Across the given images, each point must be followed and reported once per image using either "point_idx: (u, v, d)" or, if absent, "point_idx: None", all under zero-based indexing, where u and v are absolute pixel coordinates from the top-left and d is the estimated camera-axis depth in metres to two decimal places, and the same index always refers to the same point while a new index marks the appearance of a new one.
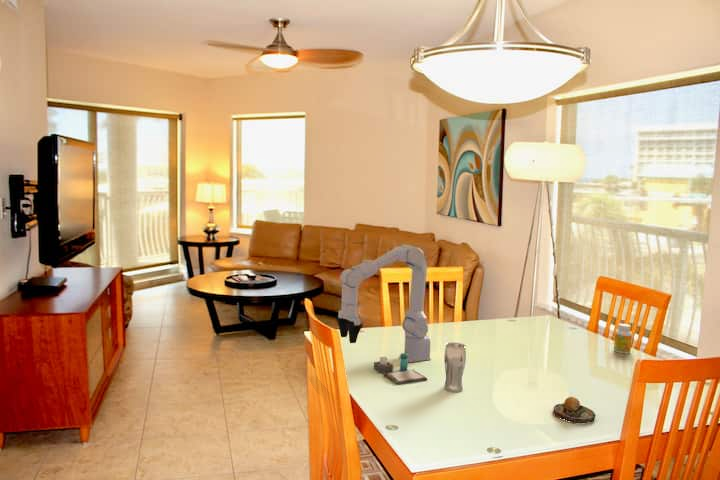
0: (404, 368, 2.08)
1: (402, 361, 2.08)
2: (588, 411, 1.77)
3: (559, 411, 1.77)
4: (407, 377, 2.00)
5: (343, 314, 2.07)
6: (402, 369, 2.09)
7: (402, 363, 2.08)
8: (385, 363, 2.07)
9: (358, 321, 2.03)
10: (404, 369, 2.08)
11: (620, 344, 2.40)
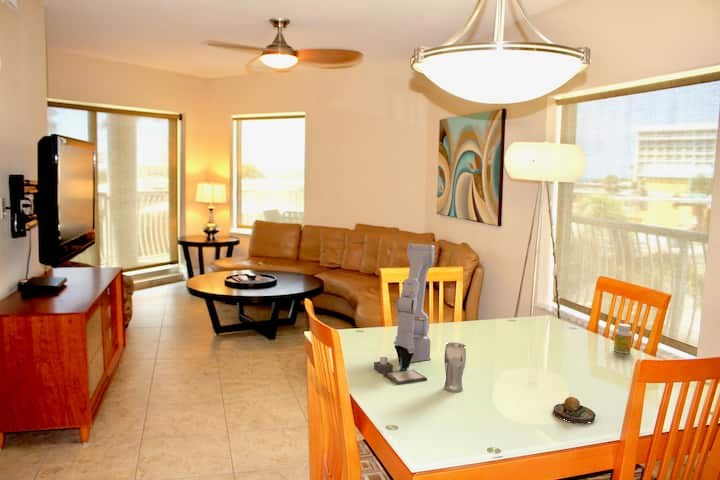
0: None
1: None
2: (588, 411, 1.77)
3: (559, 411, 1.77)
4: (407, 377, 2.00)
5: (398, 341, 2.07)
6: (402, 369, 2.09)
7: None
8: (385, 363, 2.07)
9: (412, 349, 2.02)
10: (404, 369, 2.08)
11: (620, 344, 2.40)
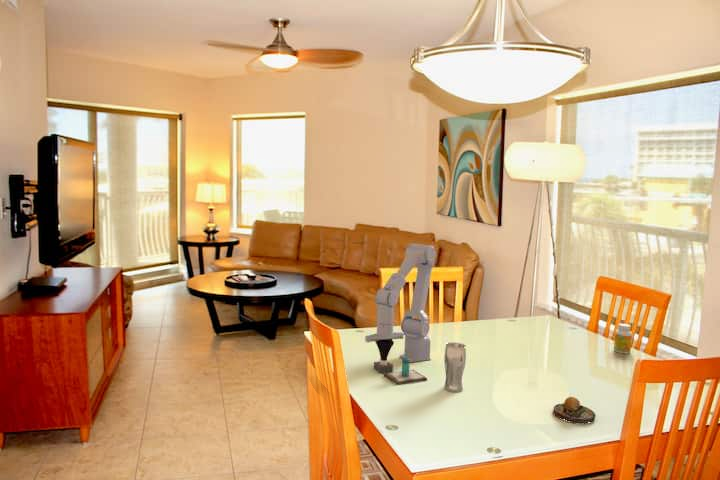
0: (406, 373, 2.00)
1: (404, 366, 2.00)
2: (588, 411, 1.77)
3: (559, 411, 1.77)
4: (407, 377, 2.00)
5: None
6: (404, 374, 2.01)
7: (404, 368, 2.00)
8: None
9: (366, 338, 2.04)
10: (406, 374, 2.01)
11: (620, 344, 2.40)
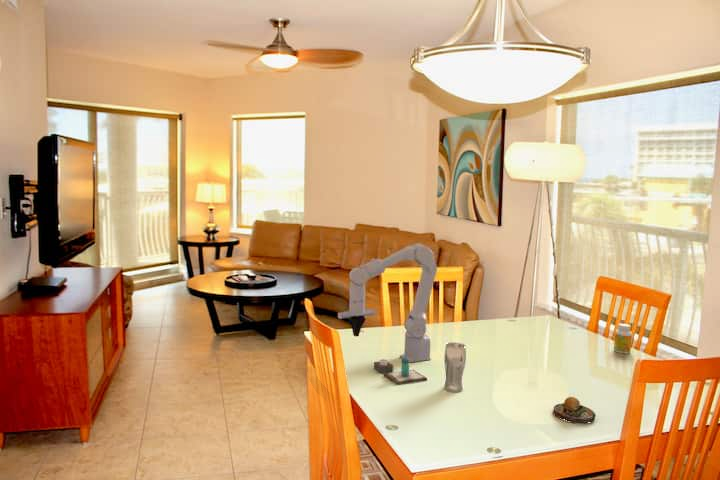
0: (406, 373, 2.01)
1: (404, 366, 2.00)
2: (588, 411, 1.77)
3: (559, 411, 1.77)
4: (407, 377, 2.00)
5: None
6: (404, 374, 2.01)
7: (404, 368, 2.00)
8: None
9: (339, 314, 2.14)
10: (406, 374, 2.01)
11: (620, 344, 2.40)
